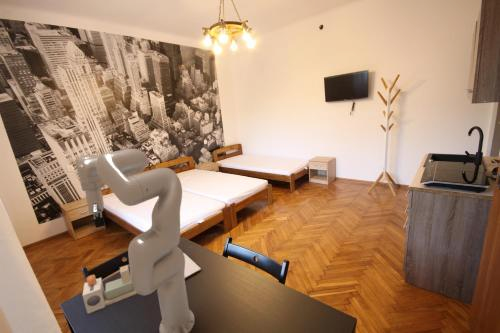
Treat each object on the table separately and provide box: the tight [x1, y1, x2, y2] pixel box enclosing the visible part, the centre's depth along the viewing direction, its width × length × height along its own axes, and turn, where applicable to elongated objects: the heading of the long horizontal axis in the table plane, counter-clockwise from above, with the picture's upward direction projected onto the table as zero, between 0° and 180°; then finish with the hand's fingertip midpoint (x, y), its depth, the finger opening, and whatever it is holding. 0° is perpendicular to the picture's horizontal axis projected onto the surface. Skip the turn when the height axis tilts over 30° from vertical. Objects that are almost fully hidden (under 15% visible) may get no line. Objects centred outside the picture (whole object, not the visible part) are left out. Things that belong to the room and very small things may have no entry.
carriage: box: [104, 264, 134, 300], centre depth 100 cm, size 6×10×10 cm, turn 120°
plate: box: [183, 252, 202, 279], centre depth 114 cm, size 19×19×2 cm
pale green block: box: [104, 289, 138, 307], centre depth 102 cm, size 7×18×6 cm, turn 120°
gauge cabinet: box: [82, 277, 106, 315], centre depth 96 cm, size 8×6×9 cm
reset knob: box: [85, 274, 97, 286], centre depth 96 cm, size 3×3×3 cm
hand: (101, 221), depth 100 cm, fingers open, 9 cm apart
